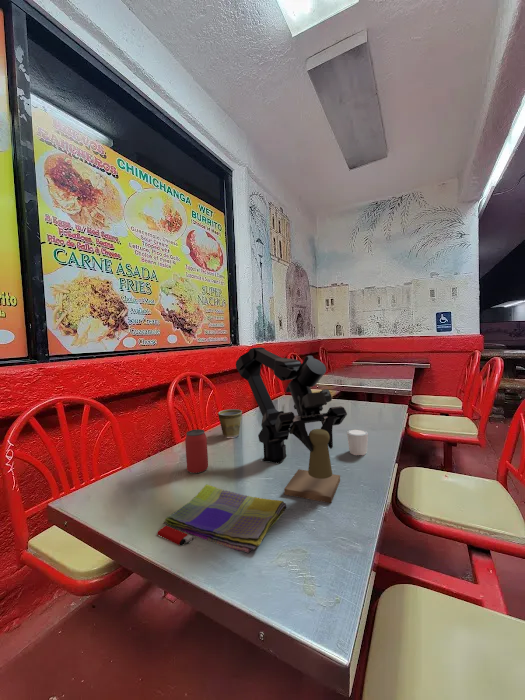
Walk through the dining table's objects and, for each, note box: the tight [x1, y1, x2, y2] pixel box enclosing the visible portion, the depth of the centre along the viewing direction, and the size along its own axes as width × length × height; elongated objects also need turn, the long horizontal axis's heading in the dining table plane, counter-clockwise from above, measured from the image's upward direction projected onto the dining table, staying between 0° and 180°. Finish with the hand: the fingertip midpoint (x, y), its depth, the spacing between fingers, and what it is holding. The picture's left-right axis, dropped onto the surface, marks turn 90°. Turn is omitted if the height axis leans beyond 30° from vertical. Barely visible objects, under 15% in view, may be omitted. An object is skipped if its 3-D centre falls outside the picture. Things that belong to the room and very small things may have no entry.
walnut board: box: [283, 468, 341, 504], centre depth 80 cm, size 12×12×2 cm
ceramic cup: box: [217, 408, 243, 438], centre depth 128 cm, size 13×10×10 cm
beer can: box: [184, 428, 209, 474], centre depth 95 cm, size 7×7×12 cm
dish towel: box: [163, 484, 288, 553], centre depth 69 cm, size 18×24×3 cm
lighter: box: [156, 525, 195, 547], centre depth 63 cm, size 3×1×8 cm
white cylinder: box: [346, 428, 369, 456], centre depth 102 cm, size 7×7×7 cm
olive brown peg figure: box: [307, 428, 333, 479], centre depth 76 cm, size 6×6×11 cm
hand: (321, 449), depth 75 cm, fingers closed on olive brown peg figure, 5 cm apart
